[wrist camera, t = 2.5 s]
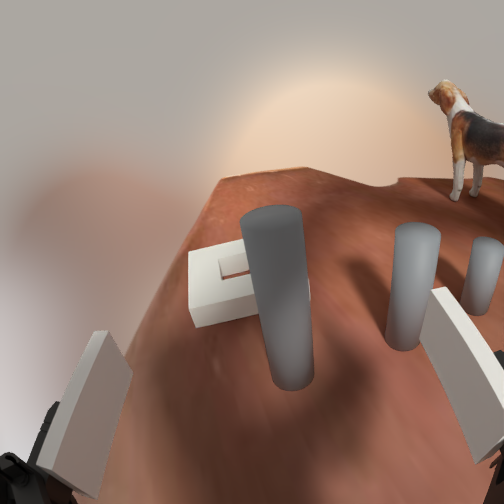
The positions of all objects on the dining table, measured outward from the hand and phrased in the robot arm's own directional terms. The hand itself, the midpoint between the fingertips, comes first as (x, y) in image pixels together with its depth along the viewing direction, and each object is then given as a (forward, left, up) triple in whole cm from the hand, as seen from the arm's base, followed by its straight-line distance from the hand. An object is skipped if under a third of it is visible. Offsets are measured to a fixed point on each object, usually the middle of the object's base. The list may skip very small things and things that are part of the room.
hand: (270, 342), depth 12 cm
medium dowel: (-14, -10, -15) cm, 23 cm away
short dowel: (-25, -10, -15) cm, 31 cm away
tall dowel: (-2, -10, -15) cm, 18 cm away
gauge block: (0, -27, -15) cm, 31 cm away
